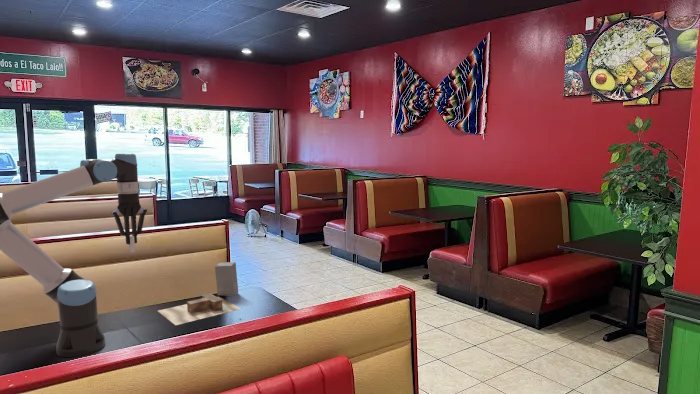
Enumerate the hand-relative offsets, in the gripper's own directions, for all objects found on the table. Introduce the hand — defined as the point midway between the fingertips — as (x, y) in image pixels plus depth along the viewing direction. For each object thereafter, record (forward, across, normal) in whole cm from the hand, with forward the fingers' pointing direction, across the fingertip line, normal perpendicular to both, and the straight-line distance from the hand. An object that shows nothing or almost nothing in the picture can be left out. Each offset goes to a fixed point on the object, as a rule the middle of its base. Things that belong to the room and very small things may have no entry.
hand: (132, 251), depth 188 cm
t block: (+28, +26, -5) cm, 39 cm away
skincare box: (+30, +43, +8) cm, 53 cm away
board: (+29, +24, -5) cm, 38 cm away
